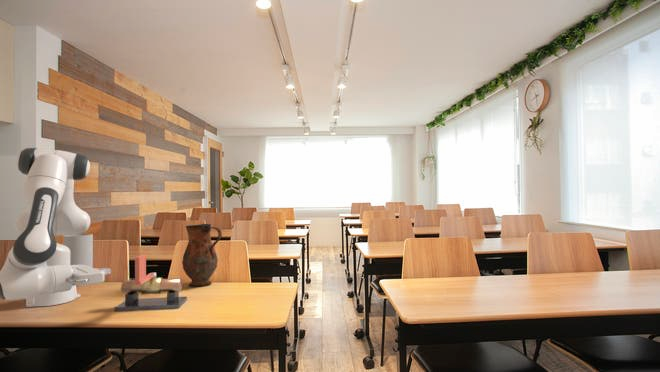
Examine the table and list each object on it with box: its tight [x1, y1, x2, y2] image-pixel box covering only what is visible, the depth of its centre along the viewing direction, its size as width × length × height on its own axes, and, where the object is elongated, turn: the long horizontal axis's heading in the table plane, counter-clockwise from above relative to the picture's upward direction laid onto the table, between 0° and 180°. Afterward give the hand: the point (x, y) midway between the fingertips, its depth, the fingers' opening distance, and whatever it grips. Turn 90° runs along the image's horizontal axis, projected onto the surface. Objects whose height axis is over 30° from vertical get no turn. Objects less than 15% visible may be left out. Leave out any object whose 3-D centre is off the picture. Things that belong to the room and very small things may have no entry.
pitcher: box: [181, 223, 223, 288], centre depth 178 cm, size 17×21×30 cm
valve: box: [114, 276, 188, 312], centre depth 146 cm, size 24×11×11 cm, turn 96°
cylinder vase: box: [62, 233, 94, 287], centre depth 184 cm, size 12×12×25 cm
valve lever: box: [134, 254, 157, 285], centre depth 139 cm, size 16×3×11 cm, turn 6°
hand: (109, 270), depth 128 cm, fingers closed
